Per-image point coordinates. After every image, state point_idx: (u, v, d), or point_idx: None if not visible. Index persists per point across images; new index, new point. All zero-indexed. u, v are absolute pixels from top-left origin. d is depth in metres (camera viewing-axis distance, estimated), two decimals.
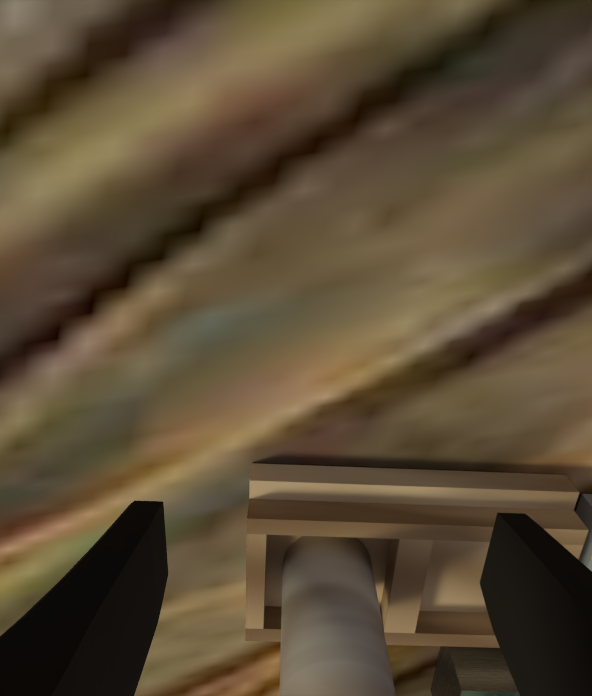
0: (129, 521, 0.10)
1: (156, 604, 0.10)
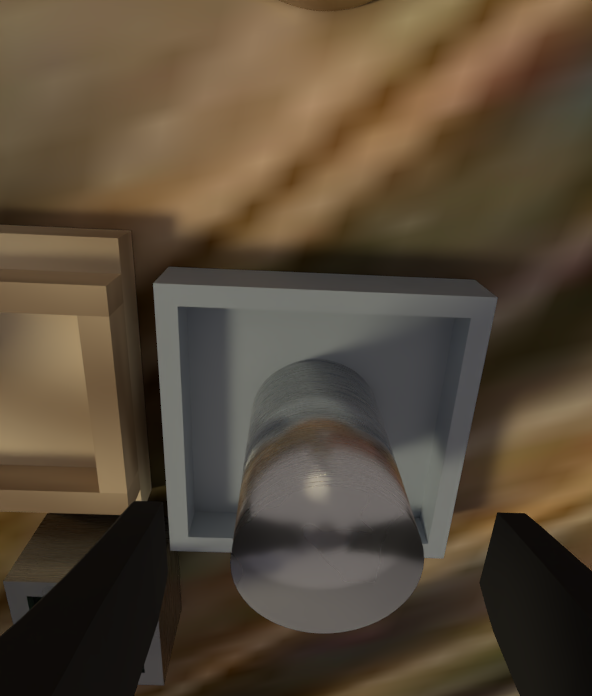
0: (129, 521, 0.10)
1: (156, 604, 0.10)
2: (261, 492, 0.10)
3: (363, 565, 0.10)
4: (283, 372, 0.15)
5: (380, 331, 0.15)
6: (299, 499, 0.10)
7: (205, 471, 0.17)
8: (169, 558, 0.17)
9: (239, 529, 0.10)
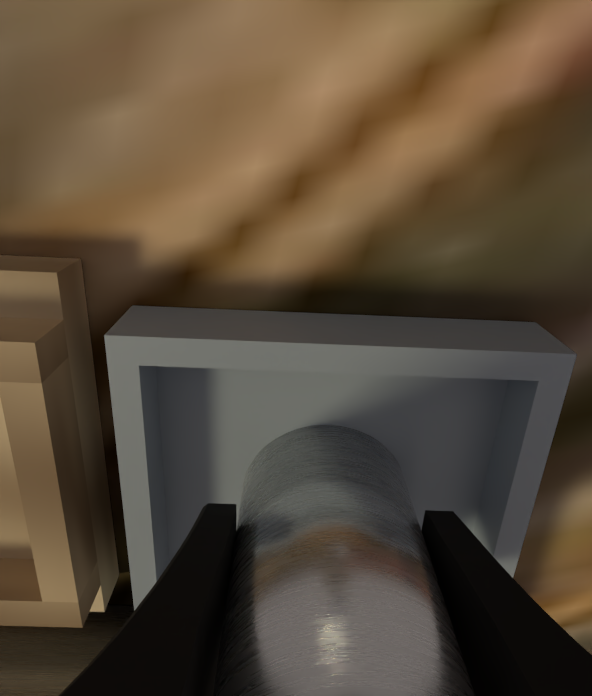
0: (210, 524, 0.10)
1: None
2: (249, 676, 0.07)
3: None
4: (283, 444, 0.11)
5: (410, 390, 0.11)
6: None
7: None
8: None
9: None
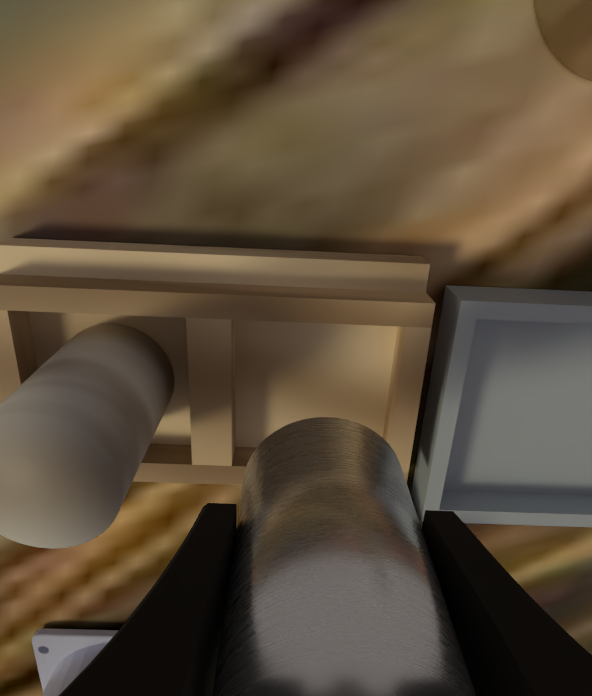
0: (209, 524, 0.10)
1: None
2: (247, 653, 0.07)
3: None
4: (281, 436, 0.12)
5: None
6: (302, 677, 0.06)
7: None
8: None
9: None
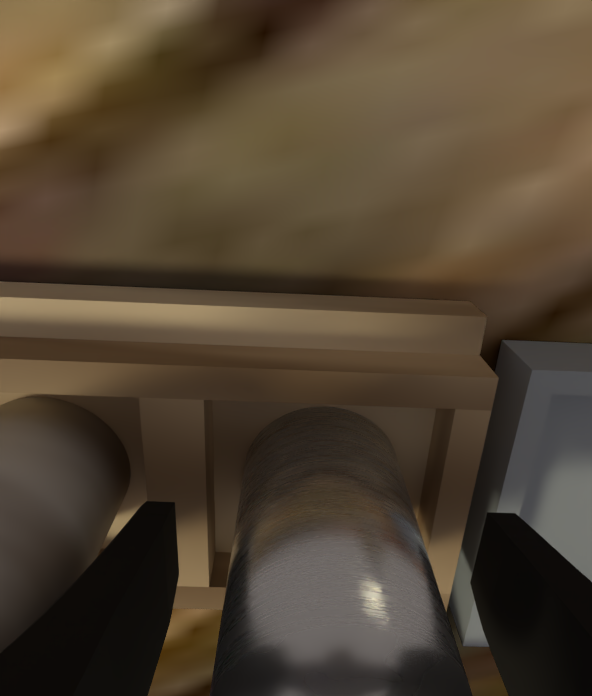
0: (142, 521, 0.10)
1: (168, 604, 0.10)
2: (247, 623, 0.08)
3: None
4: (280, 424, 0.12)
5: None
6: (298, 642, 0.07)
7: None
8: None
9: (217, 677, 0.07)
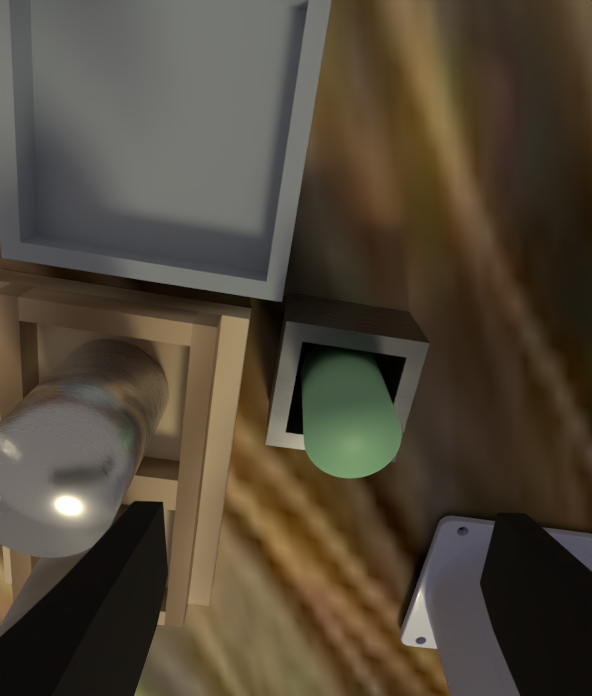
0: (129, 521, 0.10)
1: (156, 604, 0.10)
2: None
3: (33, 475, 0.13)
4: None
5: (64, 48, 0.15)
6: None
7: (220, 253, 0.17)
8: (306, 306, 0.17)
9: (11, 546, 0.14)
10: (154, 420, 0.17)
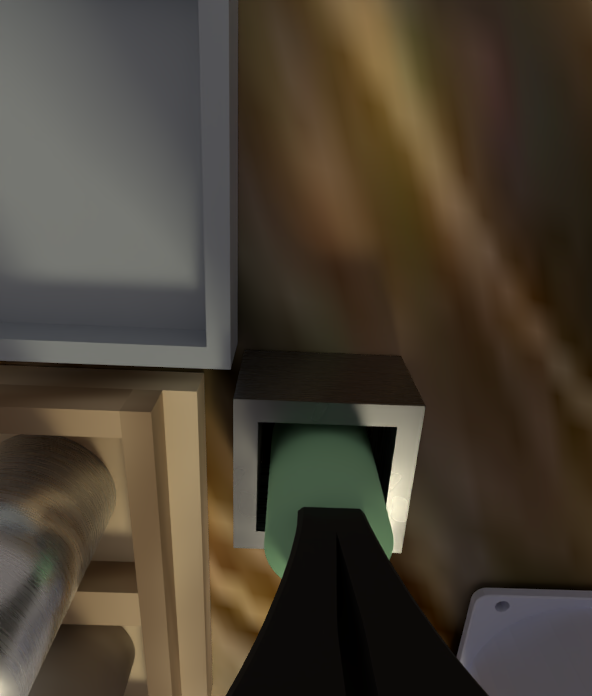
0: (314, 527, 0.10)
1: None
2: None
3: None
4: None
5: None
6: None
7: (151, 313, 0.14)
8: (265, 368, 0.14)
9: None
10: (91, 533, 0.13)
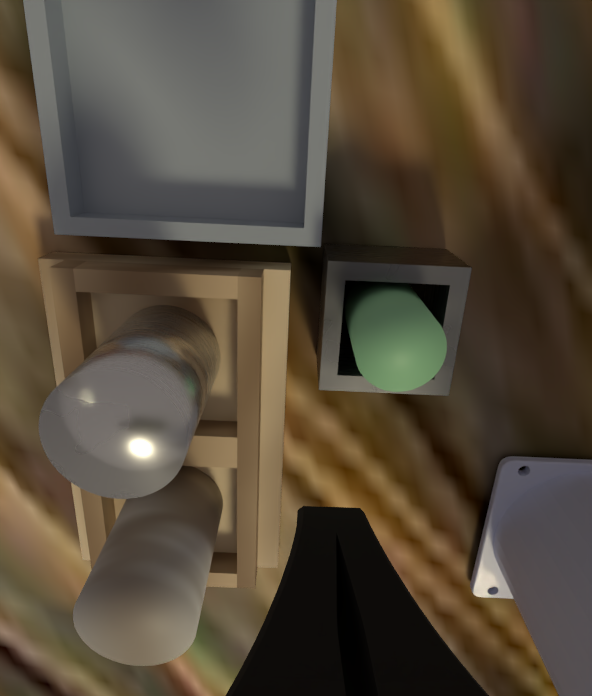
0: (314, 527, 0.10)
1: None
2: None
3: (111, 413, 0.13)
4: None
5: (94, 28, 0.16)
6: (53, 454, 0.14)
7: (256, 208, 0.18)
8: (344, 250, 0.18)
9: (89, 490, 0.14)
10: (211, 375, 0.17)
